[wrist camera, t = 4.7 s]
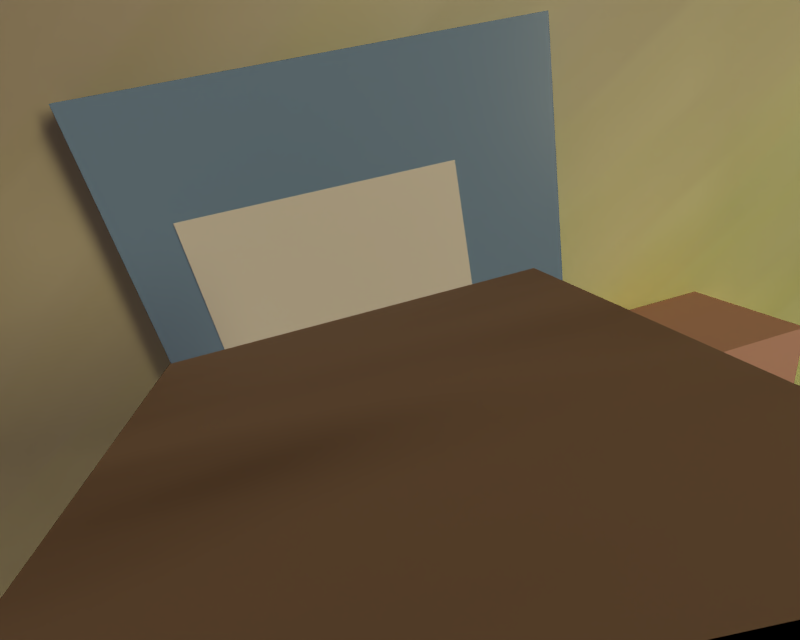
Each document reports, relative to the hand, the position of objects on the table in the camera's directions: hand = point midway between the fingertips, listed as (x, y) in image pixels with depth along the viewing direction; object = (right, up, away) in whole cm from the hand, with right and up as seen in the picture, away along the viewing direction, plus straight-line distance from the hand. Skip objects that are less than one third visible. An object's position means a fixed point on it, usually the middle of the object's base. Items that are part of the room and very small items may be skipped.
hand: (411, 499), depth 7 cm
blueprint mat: (-1, +4, +10) cm, 11 cm away
